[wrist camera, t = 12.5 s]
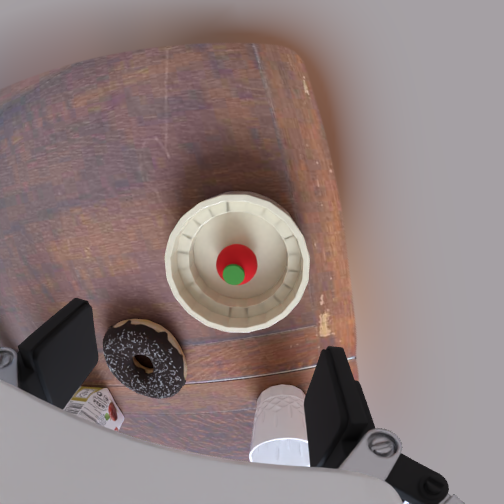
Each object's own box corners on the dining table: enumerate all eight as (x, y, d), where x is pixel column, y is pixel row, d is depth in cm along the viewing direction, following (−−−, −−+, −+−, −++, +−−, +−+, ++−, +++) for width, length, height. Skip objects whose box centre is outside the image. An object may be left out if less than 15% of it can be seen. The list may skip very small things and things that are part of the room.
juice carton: (109, 383, 38) (52, 473, 20) (131, 421, 40) (90, 508, 22) (74, 381, 39) (17, 458, 20) (97, 417, 41) (52, 494, 23)
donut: (160, 303, 34) (148, 318, 30) (206, 377, 36) (201, 397, 32) (97, 327, 35) (83, 342, 31) (142, 393, 38) (133, 410, 34)
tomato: (212, 251, 31) (202, 270, 27) (243, 230, 29) (237, 247, 26) (236, 279, 32) (229, 301, 28) (266, 260, 31) (264, 281, 27)
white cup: (309, 417, 38) (316, 470, 28) (254, 420, 38) (251, 474, 28) (311, 378, 35) (321, 435, 26) (251, 381, 36) (246, 438, 26)
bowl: (156, 239, 31) (138, 252, 27) (254, 164, 29) (251, 163, 24) (229, 329, 34) (223, 353, 29) (326, 267, 31) (336, 284, 27)
